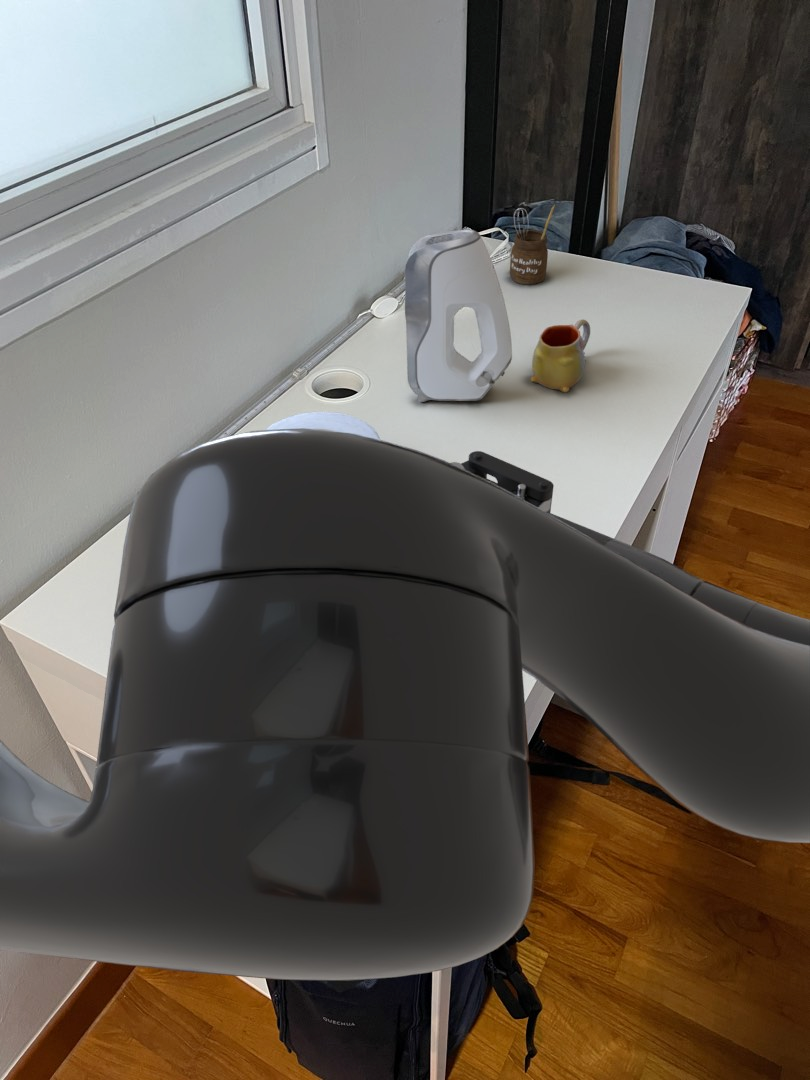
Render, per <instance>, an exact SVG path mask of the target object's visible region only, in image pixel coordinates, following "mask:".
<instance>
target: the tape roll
mask: <svg viewBox="0 0 810 1080" xmlns="http://www.w3.org/2000/svg"><path fill="white" fill-rule="evenodd" d="M299 428H305V429H318V430H326V431H335V432H344V433H353V434H358V435H362V436H366V437H370V438H375V439H379V440H382V439H381V438H380V435H379V433H378V432H377V431H376V430H375V427H372V426H371V425H370V424H369V423H368V422H367V421H364V420H362V419H360V418H357V417H355V416H353V415H349V414H345V413H341V412H335V411H334V412H333V411H311V412H301V413H298V414H294V415H290V416H287V417H285V418H283V419H280V420H278V421H276V422H275V423H273V424H271V425H269V426H268V427H266V428H265V429H264V430H276V429H299Z"/></svg>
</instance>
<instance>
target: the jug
mask: <svg viewBox="0 0 810 1080" xmlns="http://www.w3.org/2000/svg"><path fill="white" fill-rule="evenodd" d="M506 306H507V305H506V302H505V298H504V294H503V291H502V288H501V284H500V280H499V277H498V274H497V272H496V269H495V266H494V263H493V260H492V257H491V255H490V253H489V250H488V248H487V246H486V244H485V242H484V239H483V237H482V235H481V234H480V233H479V232H478V231H476V230H474V229H456V230H455V229H454V230H448V231H442V232H435V233H431V234H428V235H425V236H422V237H421V238H419V239H418V240H417V241H416V242H414V244H413V245H412V246H411V248H410V250H409V252H408V257H407V260H406V263H405V266H404V317H405V329H406V330H405V331H406V332H405V333H406V336H405V337H406V370H407V373H406V374H407V383H408V387H409V388H410V389H411V391H412V392H413V394H415V395H417V401H418V403H424V402H427V401H431V400H432V401H437V402H438V401H440V402H441V401H443V402H444V401H445V402H447V401H448V402H458V401H459V402H478V401H480V400H482V399H483V398H484V397H485V396H486V395H487V394H488V392H489V391H490V390H491V389H492V387H493V386H494V385H495V383H496V382H497V381H498V380H500V378H501V377H503V376H504V375H505V373H506V370H507V369H508V368H509V366H510V364H511V363H512V360H513V346H512V345H513V344H512V333H511V327H510V321H509V320H510V319H509V315H508V311H507V307H506ZM461 308H471V309H473V311H474V314H475V318H476V322H477V328H478V333H479V341H480V349H481V350H480V353H479V354H478V355H477V357H476V358H475V359H474V360H472V361H471V360H469V359H468V358H466V357H465V356H464V355H462V354H461V353H460V352H458V350H457V349H456V348H455V343H454V342H455V316H456V315H457V314H458V312H459V311H460V309H461Z"/></svg>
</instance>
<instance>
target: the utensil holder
mask: <svg viewBox="0 0 810 1080" xmlns="http://www.w3.org/2000/svg"><path fill="white" fill-rule="evenodd" d="M555 206H556V204H553V206H552V207H551V209H550V212H549V215H548V217H547V219H546V221H545V225H544V229H543V231H541V230H538V229H530V228H529V226H530V222H529V213H527V211H525V213H526V216H527V217H526V218H527V227H526V229H522V230H521V227H520V226H521V225H520V223H517V226H518V229H519V231H518V230H517V227H516V226H514V228H515V230H516V233H515V235H514V237H513V246H512V247H511V249H510V250H511V251H510V261H509V277H510V279H511V280H512V281H513V282H515V283H516V284H519V285H530V286H531V285H537V284H540V283H542V282H543V281H544V280H545V278H546V275H547V268H548V257H549V256H548V254H549V251H548V250H549V249H548V247H547V243H548V238H547V237H548V236H547V235H546V232H547V229H548V226H549V225H550V223H551V219H552V216H553V212H554V209H555ZM523 210H525V207H524V208H523V207H519V208H517V209H516V211H514V212H513V222H514V225H516V220H519V218H520V216H519V215H520V213H517V212H519V211H522V212H521V213H522V214H521V215H522V216H525V214H524V211H523ZM516 214H517V215H516ZM516 216H517V219H515V217H516ZM526 218H525V217H523V218H522V219H523V223H525V221H526Z"/></svg>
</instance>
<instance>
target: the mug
mask: <svg viewBox="0 0 810 1080" xmlns="http://www.w3.org/2000/svg"><path fill="white" fill-rule="evenodd" d="M581 327H582V330H583V331H582V335H581V331H580V329H581ZM590 336H591V325H590V323H589V321H588V320H586V319H579V320H577V321H576V322H575V324H556V325H550V326H548V327H546V328H544V329H543V330H542V332H541V333H540V335H539V337H538V342H537V344H536V346H535V348H534V351H533V354H532V359H531V369H532V376H531V377H530V381H531V382H532V383H534V384H539V385H541V386H542V387H545V388H548V389H551V390H559V391H560V392H562V393H568V392H569V391H570V388H572V387H574V386H575V385H576V384H577V383H578V382H580V379H581V378H582V376H583V373H584V371H585V366H586V365H585V364H586V359H585V358H586V356H585V355H586V352H585V349H586V346H587V344H588V342H589V339H590Z"/></svg>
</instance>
